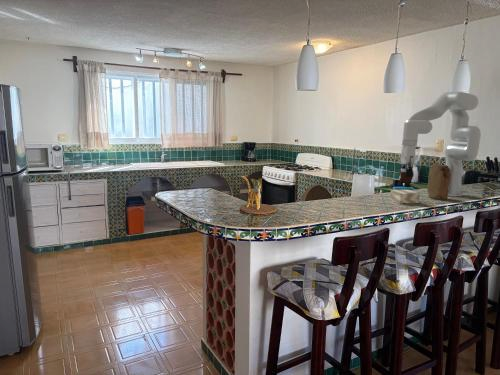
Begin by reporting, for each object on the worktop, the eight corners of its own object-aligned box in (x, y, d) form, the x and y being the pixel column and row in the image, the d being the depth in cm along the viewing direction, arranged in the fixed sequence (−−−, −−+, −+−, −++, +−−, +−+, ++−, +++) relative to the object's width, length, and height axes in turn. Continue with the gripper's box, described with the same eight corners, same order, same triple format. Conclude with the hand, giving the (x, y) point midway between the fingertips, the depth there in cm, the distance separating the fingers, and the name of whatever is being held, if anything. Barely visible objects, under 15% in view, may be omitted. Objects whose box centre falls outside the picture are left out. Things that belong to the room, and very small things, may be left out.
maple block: (407, 199, 212) (408, 189, 211) (418, 204, 202) (419, 193, 201) (389, 199, 211) (390, 189, 210) (399, 204, 200) (400, 193, 199)
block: (425, 196, 220) (428, 163, 216) (434, 196, 222) (438, 163, 219) (440, 200, 210) (444, 166, 206) (449, 200, 212) (454, 165, 209)
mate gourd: (409, 182, 208) (411, 155, 205) (415, 184, 200) (418, 157, 197) (396, 181, 208) (398, 155, 205) (402, 184, 200) (405, 157, 197)
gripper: (397, 142, 209) (394, 172, 212) (407, 144, 192) (404, 177, 195) (411, 142, 208) (408, 173, 212) (422, 144, 191) (419, 177, 195)
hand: (406, 175), depth 203 cm, fingers closed on mate gourd, 7 cm apart
